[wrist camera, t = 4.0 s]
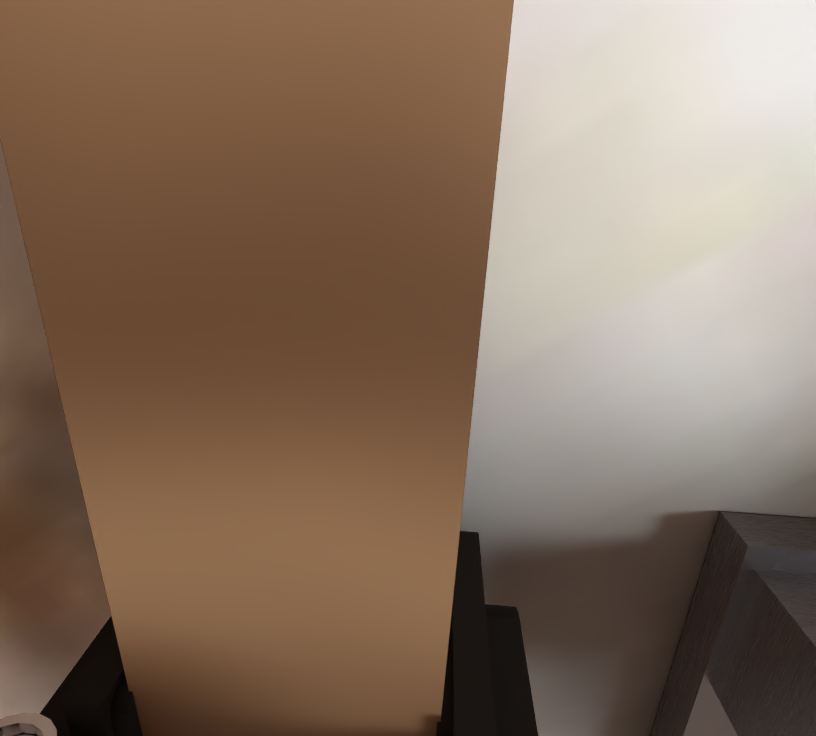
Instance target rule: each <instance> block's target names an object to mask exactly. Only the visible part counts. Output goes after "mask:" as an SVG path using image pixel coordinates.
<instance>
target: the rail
mask: <svg viewBox="0 0 816 736" xmlns="http://www.w3.org/2000/svg"><path fill="white" fill-rule="evenodd" d="M513 3H514V0H0V140H1V144H2V148H3V153H4V157H5V161H6V166H7V170H8V174H9V178H10V183H11V187H12V191H13V196H14V200H15V204H16V208H17V213H18V217H19V221H20V226H21V230H22V234H23V238H24V243H25V247H26V251H27V256H28V260H29V264H30V268H31V273H32V277H33V281H34V286H35V290H36V294H37V298H38V303H39V307H40V311H41V316H42V320H43V324H44V329H45V333H46V337H47V341H48V346H49V350H50V354H51V359H52V363H53V367H54V371H55V376H56V380H57V384H58V389H59V393H60V397H61V401H62V406H63V410H64V414H65V419H66V423H67V427H68V431H69V436H70V440H71V444H72V449H73V453H74V457H75V461H76V466H77V470H78V474H79V479H80V483H81V487H82V491H83V496H84V500H85V504H86V509H87V513H88V517H89V521H90V526H91V530H92V534H93V539H94V543H95V547H96V551H97V556H98V560H99V564H100V569H101V573H102V577H103V582H104V586H105V590H106V594H107V599H108V603H109V607H110V612H111V616H112V620H113V624H114V629H115V633H116V637H117V642H118V646H119V650H120V654H121V659H122V663H123V667H124V672H125V676H126V680H127V684H128V689H129V691H132V692H133V696H134V700H135V704H136V709H137V713H138V717H139V722H140V726H141V730H142V735H143V736H436V728H437V722H441V712H442V703H443V693H444V683H445V673H446V663H447V653H448V643H449V634H450V624H451V614H452V604H453V594H454V584H455V574H456V565H457V555H458V545H459V535H460V525H461V515H462V505H463V496H464V486H465V476H466V466H467V456H468V446H469V436H470V427H471V417H472V407H473V397H474V387H475V377H476V368H477V358H478V348H479V338H480V328H481V318H482V308H483V299H484V289H485V279H486V269H487V259H488V249H489V239H490V230H491V220H492V210H493V200H494V190H495V180H496V170H497V161H498V151H499V141H500V131H501V121H502V111H503V102H504V92H505V82H506V72H507V62H508V52H509V42H510V33H511V23H512V13H513Z"/></svg>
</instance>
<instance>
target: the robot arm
mask: <svg viewBox="0 0 816 736" xmlns="http://www.w3.org/2000/svg"><path fill="white" fill-rule="evenodd" d="M0 736H143V735H142V730H141V726H140V722H139V717H138V713H137V709H136V704H135V700H134V696H133V692H132V691H129V689H128V684H127V680H126V676H125V672H124V667H123V663H122V659H121V654H120V650H119V646H118V642H117V637H116V633H115V629H114V624H113V620H112V616H111V617H110V618H109V620H108V621H107V623H106V624H105V625H104V627H103V628H102V629H101V631H100V632H99V634H98V635H97V636H96V638H95V639H94V640H93V642H92V643H91V644H90V646H89V647H88V649H87V650H86V651H85V653H84V654H83V655H82V657H81V658H80V659H79V661H78V662H77V664H76V665H75V666H74V668H73V669H72V670H71V672H70V673H69V675H68V676H67V677H66V679H65V680H64V681H63V683H62V684H61V685H60V687H59V688H58V690H57V691H56V692H55V694H54V695H53V696H52V698H51V699H50V700H49V702H48V703H47V705H46V706H45V707H44V709H43V710H42V711H41V713H40V714H38V713H20V714H16V715H11V716H7V717H4V718H2V719H0ZM436 736H538V732H537V726H536V720H535V713H534V707H533V701H532V695H531V688H530V682H529V676H528V669H527V663H526V657H525V651H524V644H523V638H522V632H521V625H520V619H519V614H518V611H517V608H516V607H509V606H497V605H486V604H485V601H484V589H483V578H482V566H481V555H480V543H479V534H478V532H466V531H460V535H459V545H458V555H457V565H456V574H455V584H454V594H453V604H452V614H451V624H450V634H449V643H448V653H447V663H446V673H445V683H444V693H443V703H442V712H441V722H437V728H436Z"/></svg>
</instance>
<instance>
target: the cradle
mask: <svg viewBox="0 0 816 736" xmlns="http://www.w3.org/2000/svg"><path fill="white" fill-rule="evenodd" d="M651 736H816V519H813V518H799V517H786V516H773V515H759V514H746V513H733V512H720V514H719V517H718V520H717V523H716V526H715V530H714V533H713V536H712V539H711V543H710V546H709V549H708V552H707V555H706V559H705V562H704V565H703V568H702V572H701V575H700V578H699V581H698V584H697V588H696V591H695V594H694V597H693V601H692V604H691V607H690V610H689V614H688V617H687V620H686V623H685V626H684V630H683V633H682V636H681V639H680V643H679V646H678V649H677V652H676V655H675V659H674V662H673V665H672V668H671V672H670V675H669V678H668V681H667V684H666V688H665V691H664V694H663V697H662V701H661V704H660V707H659V710H658V714H657V717H656V720H655V723H654V726H653V730H652V733H651Z"/></svg>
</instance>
